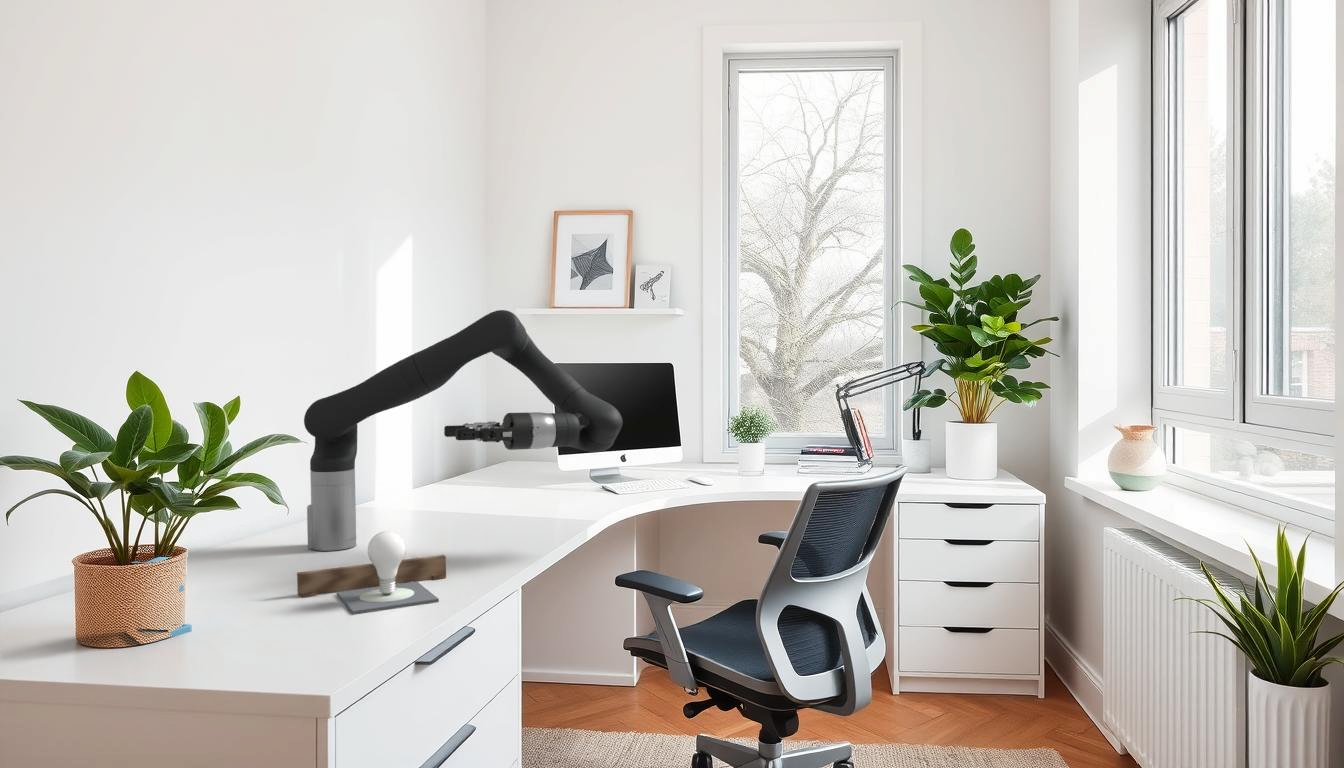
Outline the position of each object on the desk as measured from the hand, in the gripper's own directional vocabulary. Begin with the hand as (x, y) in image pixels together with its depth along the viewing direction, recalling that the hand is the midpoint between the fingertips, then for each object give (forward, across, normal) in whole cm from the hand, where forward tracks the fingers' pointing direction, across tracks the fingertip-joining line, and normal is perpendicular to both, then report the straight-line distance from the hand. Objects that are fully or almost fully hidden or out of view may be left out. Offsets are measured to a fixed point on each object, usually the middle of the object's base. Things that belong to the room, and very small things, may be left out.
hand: (450, 433), depth 174 cm
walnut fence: (+15, +6, +27) cm, 32 cm away
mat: (+15, +16, +27) cm, 35 cm away
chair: (+50, +18, +28) cm, 60 cm away
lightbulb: (+15, +16, +27) cm, 34 cm away
